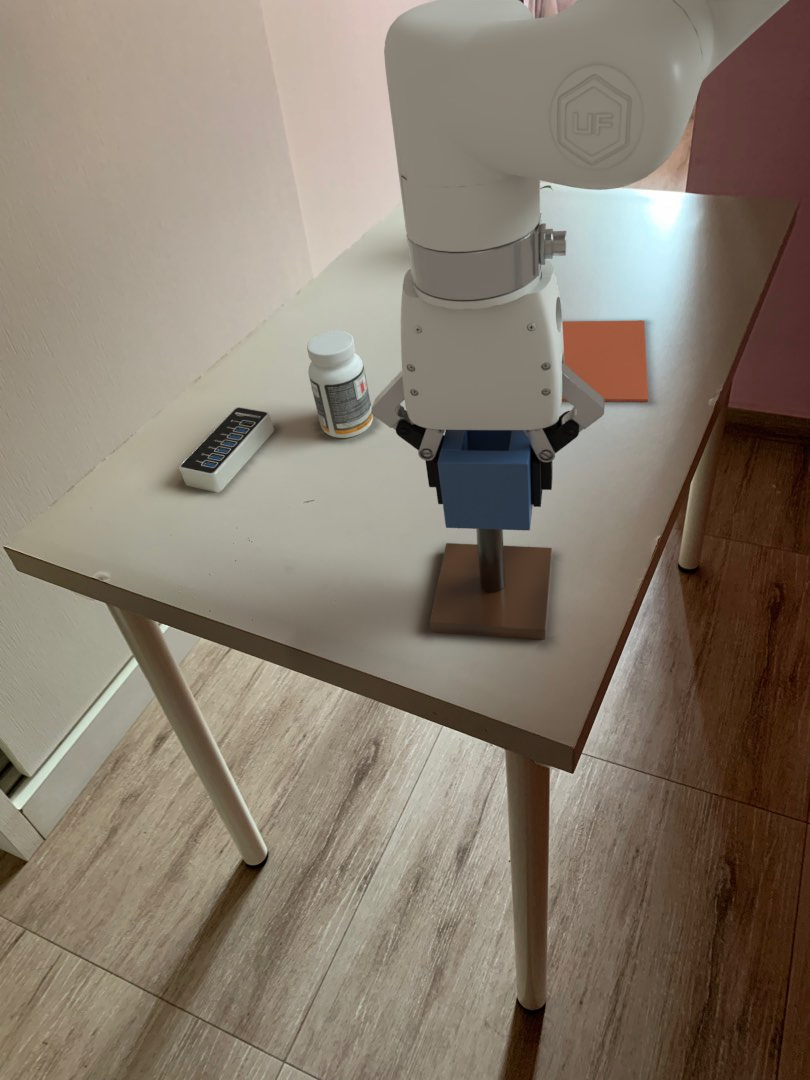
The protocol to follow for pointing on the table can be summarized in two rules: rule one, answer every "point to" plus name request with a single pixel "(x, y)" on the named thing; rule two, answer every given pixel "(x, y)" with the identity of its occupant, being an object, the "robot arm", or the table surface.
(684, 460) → the table surface
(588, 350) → the mat
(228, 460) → the multiport hub
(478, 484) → the blue block
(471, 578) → the dowel stand
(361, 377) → the pill bottle
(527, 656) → the table surface
